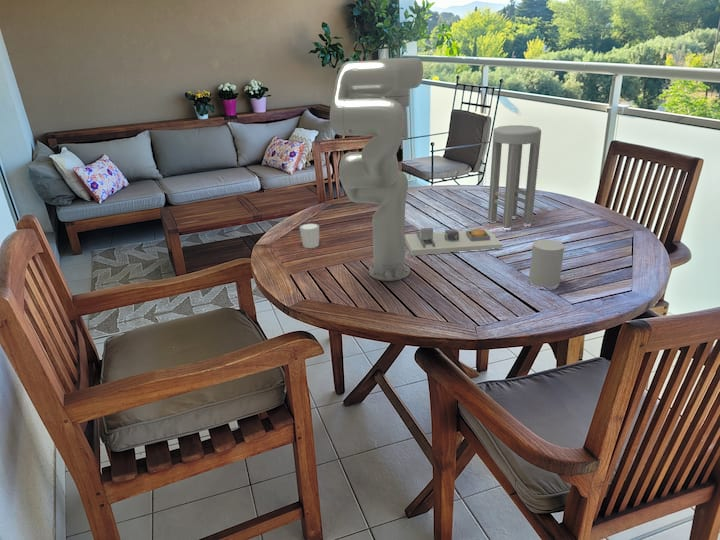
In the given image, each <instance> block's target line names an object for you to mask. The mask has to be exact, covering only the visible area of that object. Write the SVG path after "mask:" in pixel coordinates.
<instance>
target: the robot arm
mask: <svg viewBox="0 0 720 540" xmlns="http://www.w3.org/2000/svg"><path fill="white" fill-rule="evenodd" d="M423 79H424V65H423V62H422V60H421V59H420V58H419V57H402V58H401V57H394V58H393V57H392V58H391V57H389V58H382V59H375V60H351V61H345V62H344V63H343V64H342V65H341V66H340V68H339V69H338V71H337V75H336V77H335V82H334V88H333V93H332V99H331V103H330V110H329V123H330V127H331V130H332V132H334V134H336V135H339V136H343V137H345V136H346V137H350V136H351V137H352V136H353V137H354V136H356V137H358V136H359V137H360V136H361V137H362V136H364V137H365V136H367V137H368V136H369V137H370V136H372V137H371V138H370V139H369V141H367V143H366V144H365V145H364V146H363V148H362V150H361V151H348V152H346V153H344V154H343V156H342V157H341V158H340V161H339V164H338V175H339V177H338V178H339V181H340V183H341V186H342V188H343V190H344V192H345V193H346V194H345V195H346V196H347V197H348V199H349V200H350V201H351V202H352V203H358V204H379V205H380V206H379V207H378V208H377V209H376V211H375V212H374V213H373V216H372V218H371V219H372V220H371V223H372V225H371V226H372V249H373V250H372V254H373V257H372V258H373V264H372V265H371V266H369V268H368V274H369V276H370V277H371V278H373V279H375V280H378V281H383V282H395V281H400V280H403V279H405V278H407V277H409V275H410V274H411V268H410V266H408V265H407V264H406V242H405V235H406V205H407V204H406V203H407V202H406V201H407V195H408V188H409V181H408V179H409V178H408V177H407V175H406V173H404V172H403V171H401V170H400V167H399V162H400V163H402V162H403V156H404V155H403V153H404V152H403V149H404V148H403V139H404V141H408V139H409V132H408V131H409V130H408V111H407V108H408V107H409V106H410V89H416V88H418V87H420V86H421V84H422V81H423Z"/></svg>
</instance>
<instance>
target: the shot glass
mask: <svg viewBox="0 0 720 540" xmlns="http://www.w3.org/2000/svg"><path fill="white" fill-rule="evenodd" d="M299 232H300V237H301V243H302V247H303V248H305V249H314V248H317V247H318V246H319V245H320V225H319V224H317V223H304V224H302V225H301V224H300V226H299Z"/></svg>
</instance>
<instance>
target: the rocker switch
mask: <svg viewBox="0 0 720 540" xmlns="http://www.w3.org/2000/svg"><path fill="white" fill-rule="evenodd" d="M458 231H459V230H456V229H447V230H446V229H445V230H444V232H445V233H446V234H447V237H453V236H457V235H459V232H458Z"/></svg>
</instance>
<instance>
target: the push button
mask: <svg viewBox="0 0 720 540" xmlns="http://www.w3.org/2000/svg"><path fill="white" fill-rule="evenodd" d="M471 230H472V231H471V236H472V237H477V236H484V235H485V231H483V230H482V229H471Z"/></svg>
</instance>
